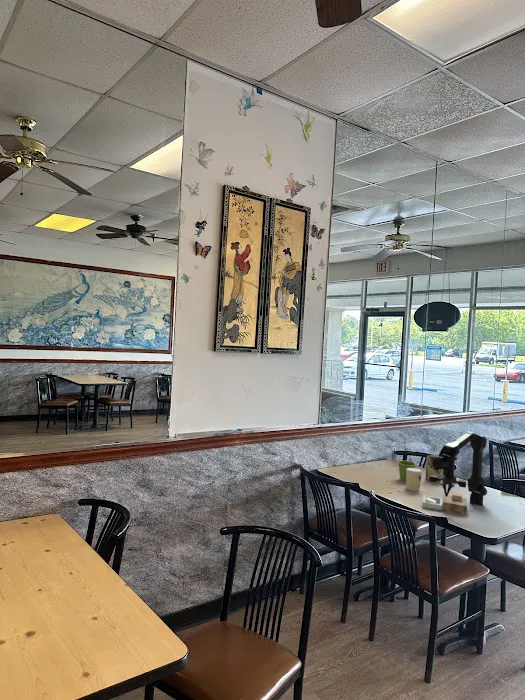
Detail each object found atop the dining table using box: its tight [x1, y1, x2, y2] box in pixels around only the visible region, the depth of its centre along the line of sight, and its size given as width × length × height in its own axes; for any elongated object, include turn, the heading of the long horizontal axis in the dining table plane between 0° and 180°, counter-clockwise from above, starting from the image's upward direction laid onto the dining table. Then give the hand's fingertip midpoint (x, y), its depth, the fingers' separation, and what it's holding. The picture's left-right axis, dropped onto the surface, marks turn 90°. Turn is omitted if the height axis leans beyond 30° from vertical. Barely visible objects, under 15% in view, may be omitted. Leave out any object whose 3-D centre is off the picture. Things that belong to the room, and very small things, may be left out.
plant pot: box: [397, 460, 417, 482], centre depth 322 cm, size 12×12×11 cm
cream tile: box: [425, 497, 436, 504], centre depth 271 cm, size 5×5×2 cm
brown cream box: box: [441, 494, 468, 516], centre depth 269 cm, size 12×14×5 cm
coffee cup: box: [405, 468, 423, 492], centre depth 302 cm, size 9×9×12 cm
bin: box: [421, 494, 443, 512], centre depth 273 cm, size 10×14×3 cm
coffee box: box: [424, 454, 443, 483], centre depth 326 cm, size 9×6×16 cm
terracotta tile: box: [451, 492, 463, 501], centre depth 271 cm, size 5×5×2 cm
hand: (446, 496), depth 267 cm, fingers closed
